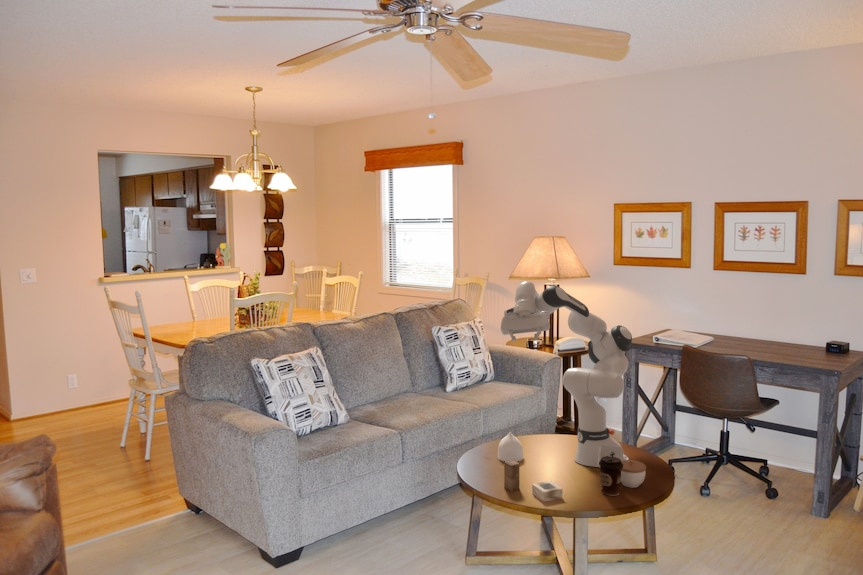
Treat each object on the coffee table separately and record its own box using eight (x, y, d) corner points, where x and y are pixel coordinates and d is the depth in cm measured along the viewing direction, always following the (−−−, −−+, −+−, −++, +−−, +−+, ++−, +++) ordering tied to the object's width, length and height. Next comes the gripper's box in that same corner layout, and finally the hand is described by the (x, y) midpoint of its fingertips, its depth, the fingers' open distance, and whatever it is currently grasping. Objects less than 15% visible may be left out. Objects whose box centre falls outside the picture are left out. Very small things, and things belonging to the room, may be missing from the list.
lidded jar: (642, 492, 253) (642, 467, 252) (613, 486, 258) (613, 462, 257) (648, 482, 262) (648, 458, 262) (620, 477, 268) (620, 454, 267)
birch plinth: (551, 491, 256) (551, 480, 256) (562, 499, 248) (562, 488, 248) (532, 494, 253) (532, 483, 253) (543, 502, 246) (543, 492, 245)
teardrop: (521, 453, 296) (521, 426, 295) (524, 462, 285) (524, 434, 284) (496, 453, 297) (496, 426, 295) (498, 462, 286) (498, 434, 284)
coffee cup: (607, 499, 247) (608, 464, 246) (593, 490, 255) (594, 457, 253) (627, 495, 251) (627, 460, 249) (612, 487, 258) (612, 453, 257)
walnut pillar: (512, 485, 261) (512, 460, 260) (519, 488, 258) (519, 463, 257) (504, 487, 259) (504, 462, 258) (511, 491, 255) (511, 465, 254)
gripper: (551, 315, 288) (551, 341, 279) (503, 320, 293) (502, 346, 284) (548, 306, 283) (549, 332, 274) (500, 311, 289) (499, 337, 280)
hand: (525, 339), depth 279 cm, fingers open, 8 cm apart
